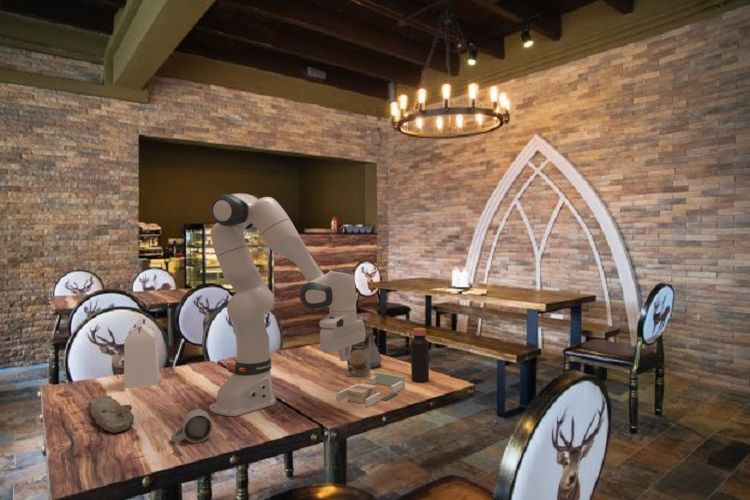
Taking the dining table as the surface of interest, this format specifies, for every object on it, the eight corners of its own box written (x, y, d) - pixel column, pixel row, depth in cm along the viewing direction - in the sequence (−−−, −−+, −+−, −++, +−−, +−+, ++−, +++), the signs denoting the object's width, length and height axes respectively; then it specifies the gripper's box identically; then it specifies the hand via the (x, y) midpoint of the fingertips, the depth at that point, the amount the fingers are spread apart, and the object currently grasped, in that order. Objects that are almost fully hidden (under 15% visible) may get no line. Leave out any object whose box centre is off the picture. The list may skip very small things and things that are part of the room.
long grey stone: (115, 404, 169) (82, 412, 163) (113, 389, 169) (81, 397, 163) (141, 427, 143) (104, 439, 136) (140, 410, 142) (102, 420, 136)
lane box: (367, 407, 157) (367, 395, 157) (336, 400, 165) (336, 388, 165) (404, 387, 177) (404, 376, 177) (375, 382, 185) (375, 371, 184)
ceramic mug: (209, 429, 141) (208, 403, 141) (213, 440, 134) (211, 412, 134) (170, 437, 137) (169, 410, 136) (171, 448, 129) (170, 420, 129)
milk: (157, 387, 183) (155, 319, 182) (124, 391, 178) (121, 322, 178) (159, 378, 194) (157, 315, 193) (127, 382, 190) (125, 317, 189)
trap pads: (385, 401, 163) (385, 400, 163) (346, 392, 172) (346, 391, 172) (403, 391, 173) (403, 390, 173) (365, 383, 182) (365, 383, 182)
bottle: (430, 378, 188) (429, 327, 188) (427, 383, 182) (426, 331, 181) (413, 377, 190) (412, 327, 190) (409, 382, 184) (409, 330, 183)
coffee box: (346, 376, 192) (346, 337, 192) (349, 372, 199) (348, 333, 198) (369, 376, 192) (368, 337, 191) (371, 372, 198) (370, 333, 197)
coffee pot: (387, 366, 206) (386, 332, 206) (364, 371, 200) (364, 335, 199) (360, 356, 224) (359, 325, 223) (339, 360, 217) (338, 328, 217)
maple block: (362, 404, 161) (361, 392, 161) (347, 401, 164) (347, 390, 164) (376, 397, 168) (376, 385, 168) (362, 394, 171) (362, 383, 171)
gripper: (354, 313, 167) (356, 352, 168) (315, 322, 150) (317, 366, 151) (369, 314, 164) (370, 354, 164) (331, 324, 147) (333, 369, 147)
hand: (345, 360), depth 157 cm, fingers closed
